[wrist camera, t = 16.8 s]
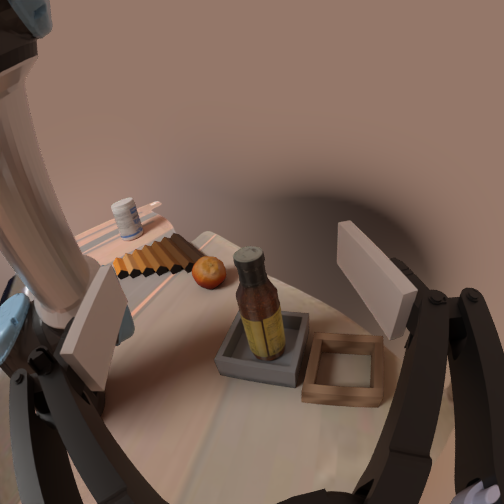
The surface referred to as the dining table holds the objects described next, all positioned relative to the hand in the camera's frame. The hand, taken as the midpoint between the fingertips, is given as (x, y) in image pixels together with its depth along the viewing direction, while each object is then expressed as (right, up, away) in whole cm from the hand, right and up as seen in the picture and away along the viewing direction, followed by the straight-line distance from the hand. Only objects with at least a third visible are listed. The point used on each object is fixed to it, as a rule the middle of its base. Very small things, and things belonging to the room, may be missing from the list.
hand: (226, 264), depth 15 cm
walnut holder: (+16, -19, +25) cm, 35 cm away
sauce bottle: (+4, -17, +31) cm, 35 cm away
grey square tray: (+4, -17, +32) cm, 36 cm away
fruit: (-9, -7, +52) cm, 54 cm away
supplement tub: (-46, +7, +87) cm, 98 cm away
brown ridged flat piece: (-26, -4, +63) cm, 69 cm away
